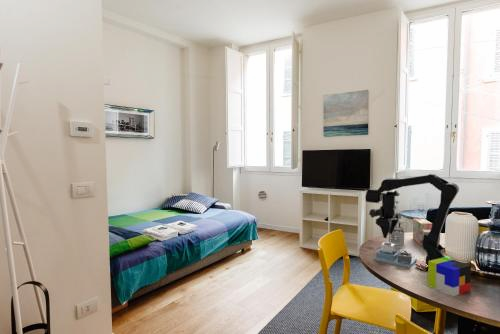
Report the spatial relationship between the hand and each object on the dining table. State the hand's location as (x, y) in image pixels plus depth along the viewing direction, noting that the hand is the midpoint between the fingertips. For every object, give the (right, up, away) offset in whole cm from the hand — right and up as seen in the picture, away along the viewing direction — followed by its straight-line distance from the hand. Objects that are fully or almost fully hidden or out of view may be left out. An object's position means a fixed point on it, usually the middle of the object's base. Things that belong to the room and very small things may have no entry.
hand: (387, 235), depth 152 cm
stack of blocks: (+30, -10, +22) cm, 38 cm away
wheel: (+5, -10, -7) cm, 13 cm away
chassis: (+3, -12, -2) cm, 12 cm away
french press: (+13, -10, +21) cm, 27 cm away
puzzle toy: (+10, -14, -31) cm, 36 cm away
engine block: (0, -10, +1) cm, 10 cm away
